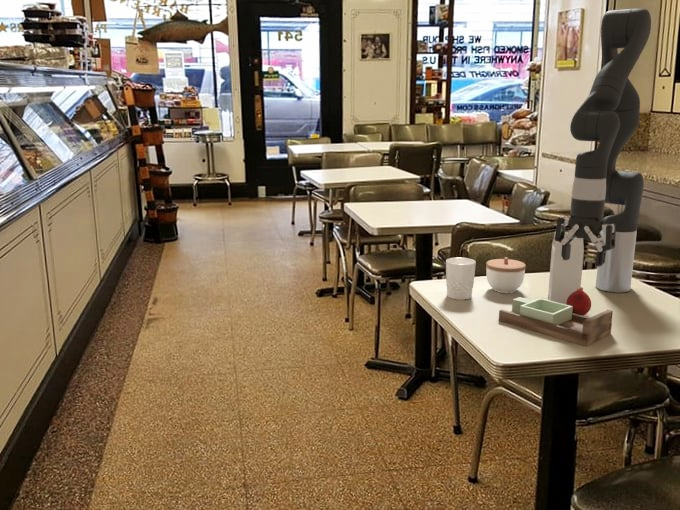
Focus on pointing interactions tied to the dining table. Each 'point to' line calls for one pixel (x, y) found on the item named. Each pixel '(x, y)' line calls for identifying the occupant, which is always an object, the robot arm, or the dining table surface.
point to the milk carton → (565, 270)
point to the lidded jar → (505, 274)
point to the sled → (542, 310)
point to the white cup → (460, 277)
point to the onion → (579, 302)
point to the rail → (566, 326)
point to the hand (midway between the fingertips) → (582, 262)
